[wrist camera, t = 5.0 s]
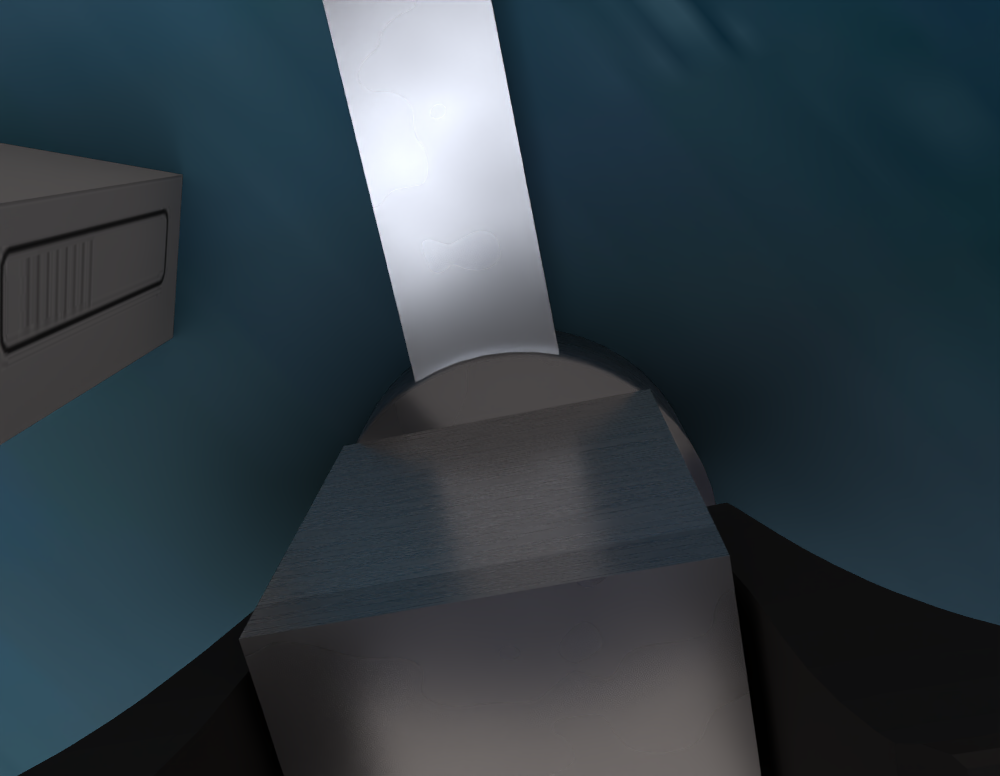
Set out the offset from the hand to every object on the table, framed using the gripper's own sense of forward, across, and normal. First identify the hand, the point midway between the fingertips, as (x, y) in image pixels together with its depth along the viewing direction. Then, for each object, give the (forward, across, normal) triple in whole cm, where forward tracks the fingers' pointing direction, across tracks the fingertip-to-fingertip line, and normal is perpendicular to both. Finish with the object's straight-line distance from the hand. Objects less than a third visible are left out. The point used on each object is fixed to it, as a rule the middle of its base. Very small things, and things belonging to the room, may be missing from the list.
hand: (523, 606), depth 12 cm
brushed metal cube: (+2, 0, 0) cm, 2 cm away
